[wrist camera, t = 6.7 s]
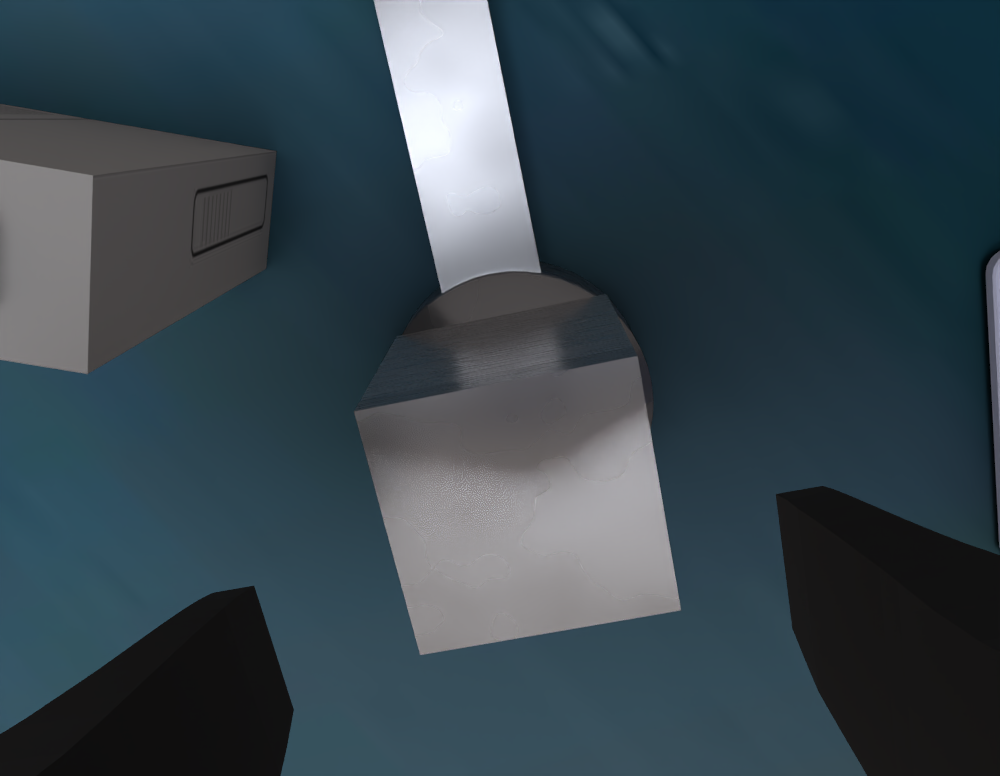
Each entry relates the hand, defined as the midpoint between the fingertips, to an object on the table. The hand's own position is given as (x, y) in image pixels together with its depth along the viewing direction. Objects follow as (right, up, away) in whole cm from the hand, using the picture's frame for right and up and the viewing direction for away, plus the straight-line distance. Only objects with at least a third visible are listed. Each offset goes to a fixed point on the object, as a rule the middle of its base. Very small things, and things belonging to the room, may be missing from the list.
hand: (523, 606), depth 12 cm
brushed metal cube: (0, +2, +8) cm, 8 cm away
